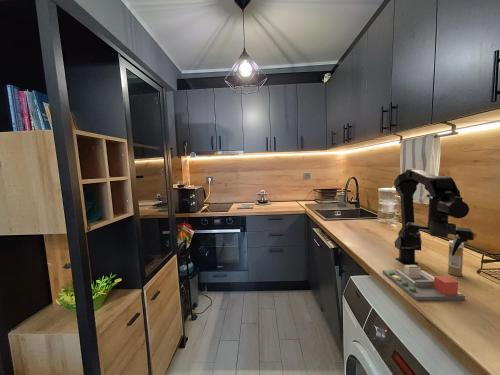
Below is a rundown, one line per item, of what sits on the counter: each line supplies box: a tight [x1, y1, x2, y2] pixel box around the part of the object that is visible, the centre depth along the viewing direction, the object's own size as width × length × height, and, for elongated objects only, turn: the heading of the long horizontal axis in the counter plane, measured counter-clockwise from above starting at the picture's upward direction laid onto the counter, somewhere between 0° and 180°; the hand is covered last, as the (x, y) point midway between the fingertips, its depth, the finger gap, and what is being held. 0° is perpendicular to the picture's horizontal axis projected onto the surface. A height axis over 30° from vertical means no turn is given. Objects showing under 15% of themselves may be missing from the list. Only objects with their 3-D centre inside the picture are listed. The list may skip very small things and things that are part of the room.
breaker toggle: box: [403, 264, 422, 278], centre depth 90 cm, size 3×4×4 cm
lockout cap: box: [433, 275, 459, 295], centre depth 79 cm, size 4×4×4 cm
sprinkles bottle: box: [447, 239, 465, 277], centre depth 94 cm, size 5×5×13 cm
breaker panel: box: [382, 268, 466, 301], centre depth 87 cm, size 20×16×3 cm
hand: (435, 253), depth 85 cm, fingers open, 9 cm apart
